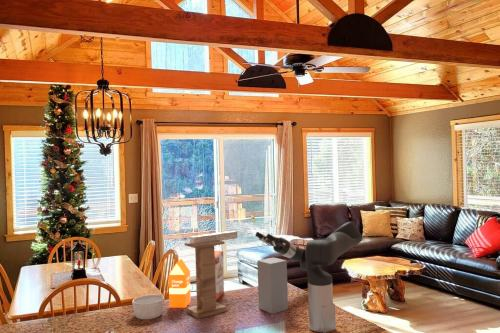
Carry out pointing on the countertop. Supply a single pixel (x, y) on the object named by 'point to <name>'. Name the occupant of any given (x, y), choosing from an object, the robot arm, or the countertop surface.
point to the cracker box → (219, 273)
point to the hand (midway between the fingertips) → (261, 234)
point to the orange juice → (179, 285)
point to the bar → (213, 237)
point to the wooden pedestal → (205, 281)
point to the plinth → (272, 285)
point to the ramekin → (148, 306)
